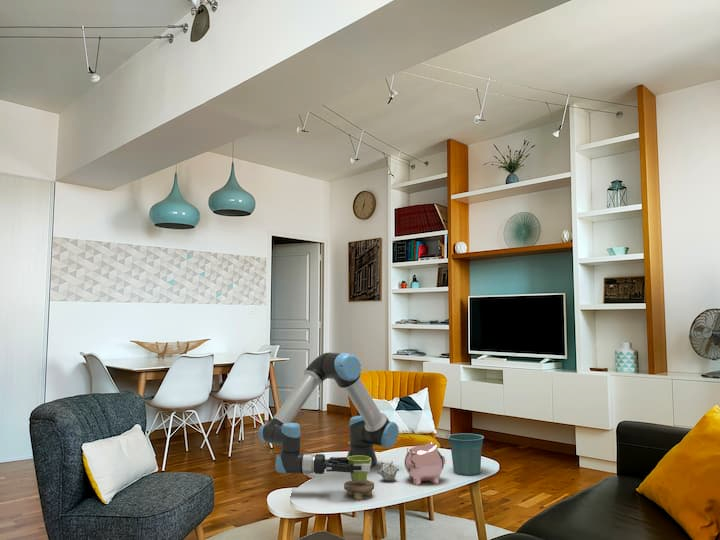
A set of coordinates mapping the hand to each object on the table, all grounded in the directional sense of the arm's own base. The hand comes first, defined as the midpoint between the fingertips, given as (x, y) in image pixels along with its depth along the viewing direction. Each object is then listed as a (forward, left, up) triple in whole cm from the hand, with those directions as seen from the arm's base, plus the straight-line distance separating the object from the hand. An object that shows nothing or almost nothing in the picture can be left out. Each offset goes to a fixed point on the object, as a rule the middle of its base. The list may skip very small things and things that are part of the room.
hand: (370, 464), depth 219 cm
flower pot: (-39, +42, -12) cm, 58 cm away
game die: (-22, +6, -12) cm, 26 cm away
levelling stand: (0, -5, -12) cm, 13 cm away
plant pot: (0, -5, -6) cm, 8 cm away
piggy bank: (-23, +22, -12) cm, 34 cm away
